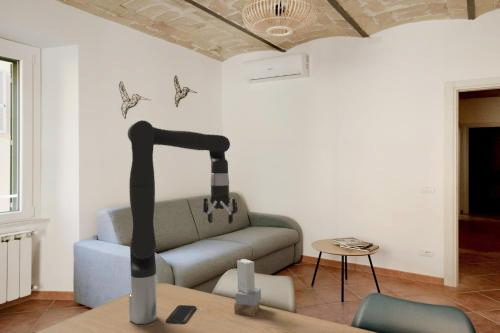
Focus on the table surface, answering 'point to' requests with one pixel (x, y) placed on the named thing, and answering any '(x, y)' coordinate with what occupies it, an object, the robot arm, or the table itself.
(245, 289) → the skincare box
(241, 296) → the tower top
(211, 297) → the table surface
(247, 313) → the tower bottom
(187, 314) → the phone
